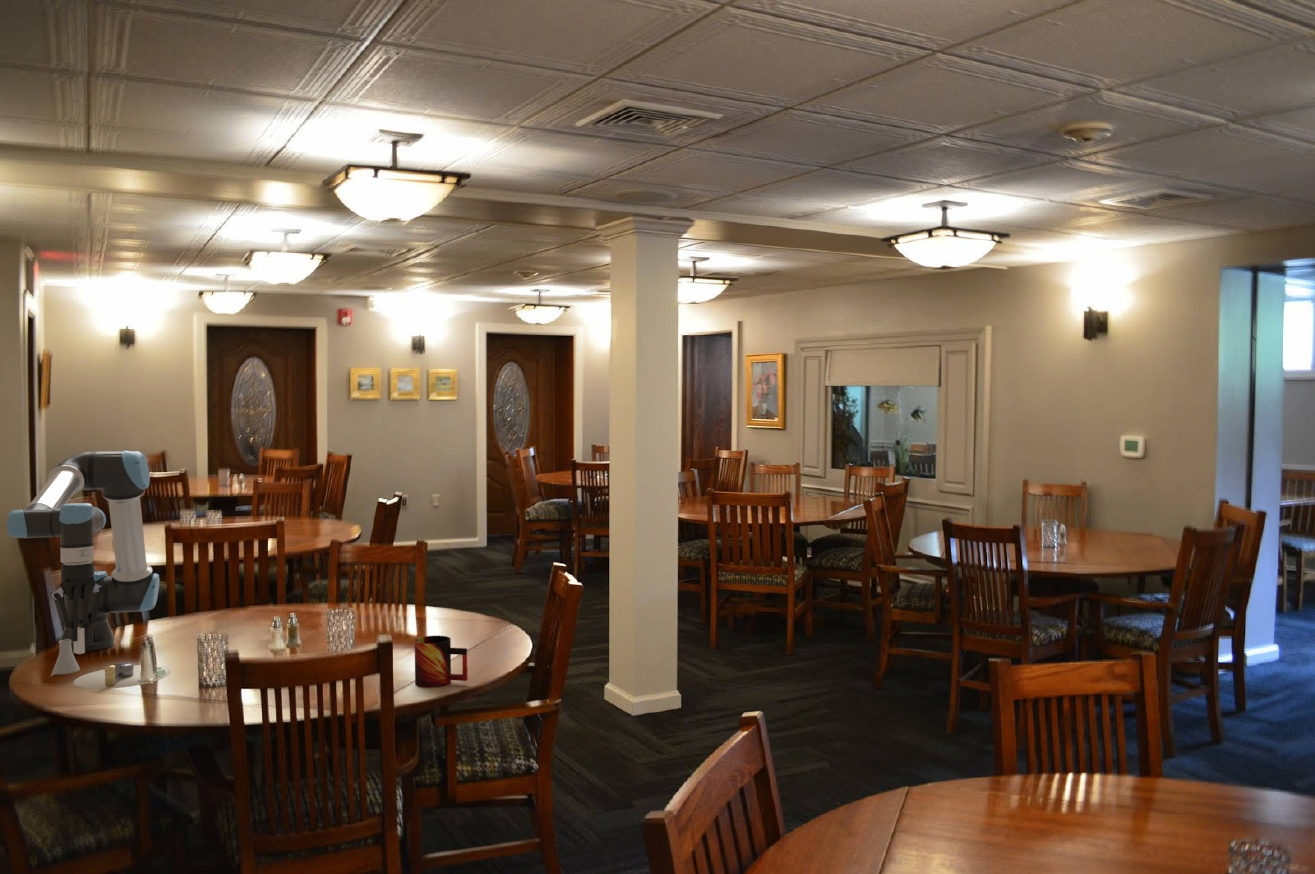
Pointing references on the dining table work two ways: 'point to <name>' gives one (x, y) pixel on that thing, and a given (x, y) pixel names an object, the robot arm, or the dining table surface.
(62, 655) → the flask
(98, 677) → the dial board
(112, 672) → the crank handle
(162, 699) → the dining table surface
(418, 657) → the mug
